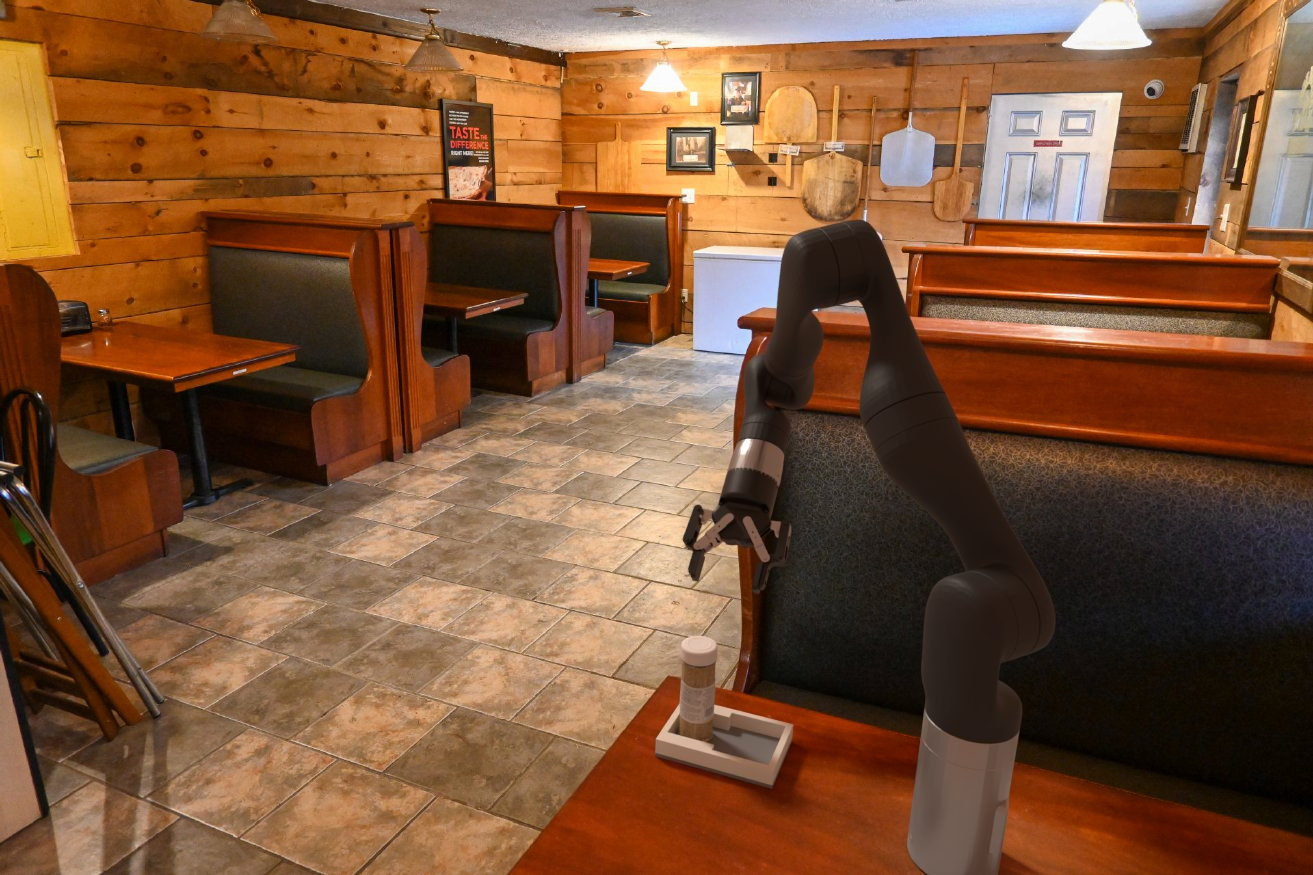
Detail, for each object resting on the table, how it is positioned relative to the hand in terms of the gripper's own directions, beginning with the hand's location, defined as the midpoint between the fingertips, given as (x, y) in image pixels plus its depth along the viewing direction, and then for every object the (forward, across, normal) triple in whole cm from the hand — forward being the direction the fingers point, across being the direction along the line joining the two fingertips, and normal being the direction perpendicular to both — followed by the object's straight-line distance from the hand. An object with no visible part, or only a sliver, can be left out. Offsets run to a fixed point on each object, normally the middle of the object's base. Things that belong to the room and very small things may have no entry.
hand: (724, 585), depth 115 cm
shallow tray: (+19, +4, +5) cm, 21 cm away
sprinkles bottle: (+19, 0, +5) cm, 20 cm away
